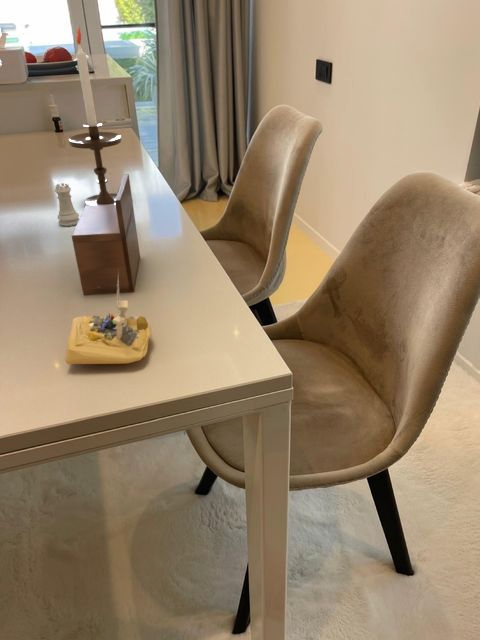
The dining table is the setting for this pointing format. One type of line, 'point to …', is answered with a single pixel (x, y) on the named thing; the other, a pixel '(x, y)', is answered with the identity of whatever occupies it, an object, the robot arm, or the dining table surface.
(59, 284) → the dining table surface
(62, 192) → the rook chess piece
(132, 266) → the wooden box with backrest
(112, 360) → the cake
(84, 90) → the candlestick
